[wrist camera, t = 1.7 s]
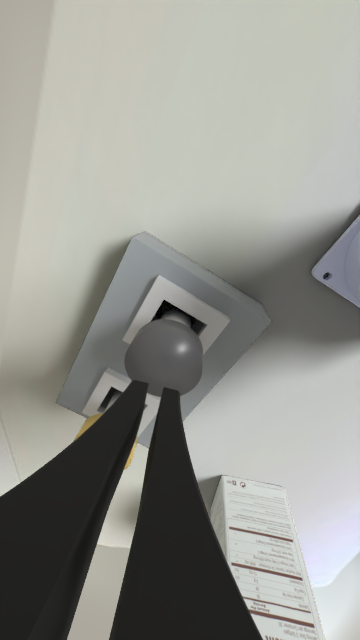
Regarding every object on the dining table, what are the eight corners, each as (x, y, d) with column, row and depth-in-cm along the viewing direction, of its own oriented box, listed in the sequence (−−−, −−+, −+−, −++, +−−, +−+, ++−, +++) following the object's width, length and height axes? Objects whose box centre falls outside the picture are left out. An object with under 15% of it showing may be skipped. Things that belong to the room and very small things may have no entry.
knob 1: (157, 395, 20) (141, 450, 15) (136, 422, 21) (117, 479, 17) (113, 372, 19) (84, 422, 15) (95, 402, 21) (65, 455, 16)
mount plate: (262, 304, 18) (273, 326, 15) (161, 424, 25) (154, 457, 21) (145, 231, 17) (129, 237, 13) (73, 379, 23) (51, 407, 20)
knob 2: (216, 316, 16) (218, 359, 11) (185, 357, 18) (176, 408, 13) (164, 285, 15) (145, 318, 11) (137, 331, 17) (112, 374, 13)
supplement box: (267, 519, 30) (301, 709, 19) (209, 507, 30) (208, 687, 19) (287, 485, 27) (343, 691, 15) (221, 472, 27) (229, 665, 16)
